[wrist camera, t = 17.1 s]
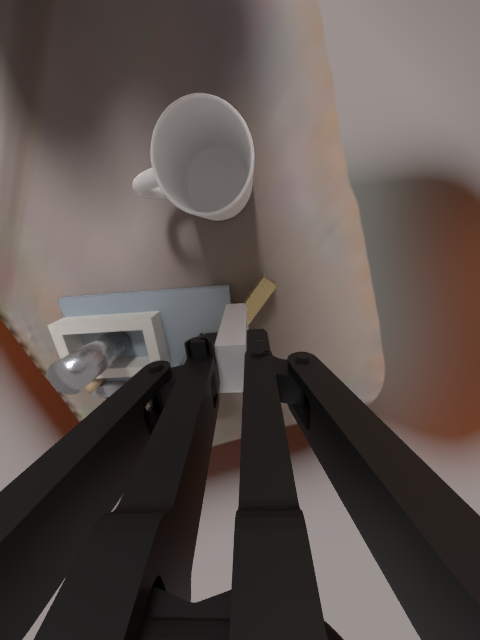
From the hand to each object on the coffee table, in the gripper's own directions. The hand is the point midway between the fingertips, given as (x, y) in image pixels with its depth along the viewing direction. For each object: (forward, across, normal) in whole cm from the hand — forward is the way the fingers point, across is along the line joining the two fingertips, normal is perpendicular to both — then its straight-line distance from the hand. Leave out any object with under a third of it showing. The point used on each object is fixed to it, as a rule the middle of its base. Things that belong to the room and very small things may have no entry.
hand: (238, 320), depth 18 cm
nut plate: (+16, -14, -9) cm, 23 cm away
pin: (+14, -19, -8) cm, 25 cm away
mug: (+16, -4, +11) cm, 20 cm away
